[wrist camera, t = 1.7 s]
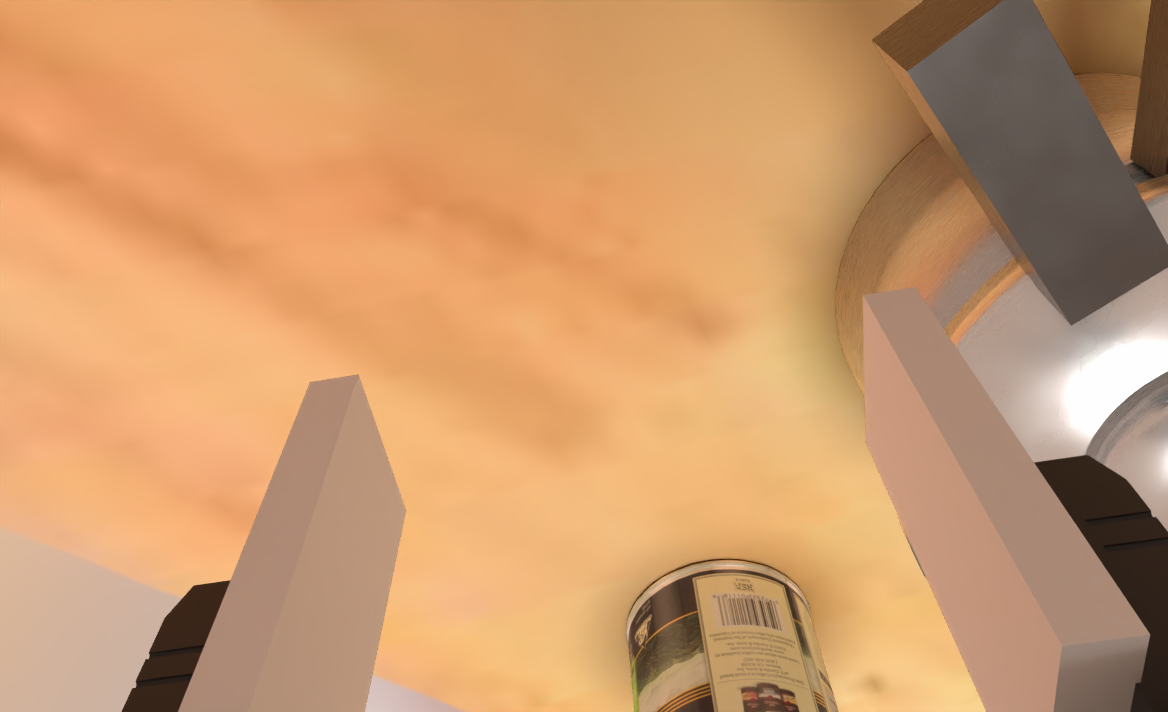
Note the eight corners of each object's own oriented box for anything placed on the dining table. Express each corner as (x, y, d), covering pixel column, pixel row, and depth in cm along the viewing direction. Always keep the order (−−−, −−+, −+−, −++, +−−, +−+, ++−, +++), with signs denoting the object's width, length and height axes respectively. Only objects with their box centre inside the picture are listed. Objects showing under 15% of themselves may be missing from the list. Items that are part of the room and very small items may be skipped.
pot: (1210, 446, 47) (1370, 615, 38) (842, 499, 49) (909, 674, 39) (1349, -202, 33) (1665, -188, 24) (819, -104, 34) (919, -53, 25)
